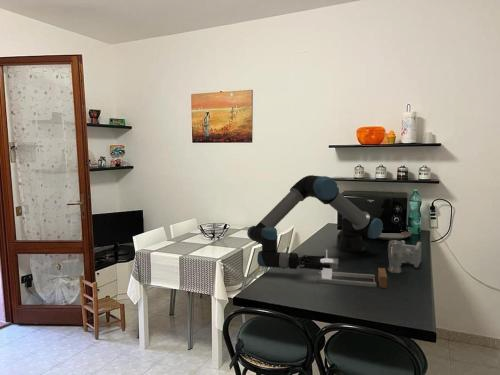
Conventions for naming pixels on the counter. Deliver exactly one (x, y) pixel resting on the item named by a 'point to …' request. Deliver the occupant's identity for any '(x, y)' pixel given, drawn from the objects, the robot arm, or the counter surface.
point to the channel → (381, 277)
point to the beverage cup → (326, 272)
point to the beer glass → (395, 256)
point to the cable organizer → (411, 254)
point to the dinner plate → (394, 236)
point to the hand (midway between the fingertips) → (337, 263)
